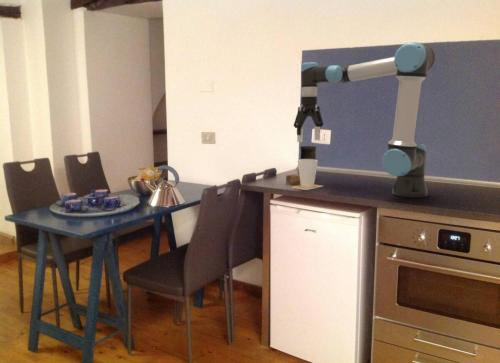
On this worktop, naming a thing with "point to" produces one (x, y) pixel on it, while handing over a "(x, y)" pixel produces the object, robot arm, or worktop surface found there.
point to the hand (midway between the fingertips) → (308, 141)
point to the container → (308, 153)
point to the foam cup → (307, 172)
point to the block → (293, 179)
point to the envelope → (306, 188)
